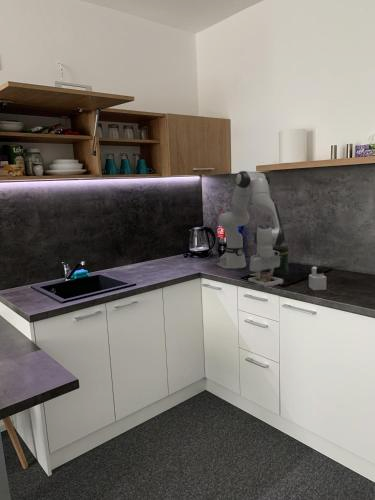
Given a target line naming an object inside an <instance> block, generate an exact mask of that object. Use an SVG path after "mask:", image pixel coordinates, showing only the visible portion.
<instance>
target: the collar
mask: <svg viewBox="0 0 375 500" xmlns="http://www.w3.org/2000/svg"><path fill="white" fill-rule="evenodd" d="M269 272H270V271H269ZM269 272H268V271H267V272H266V271H262V272H260V275H262V276H261V278H259V279H258V281H260V282H264V283H267V282H271V279H270V273H269Z"/></svg>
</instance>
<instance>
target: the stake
mask: <svg viewBox="0 0 375 500" xmlns="http://www.w3.org/2000/svg"><path fill="white" fill-rule="evenodd" d="M260 272H263V270H260ZM260 272H259V273H260ZM249 275H250V276H253V277H258V275H257V273H256V272H253V273H249Z"/></svg>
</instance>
